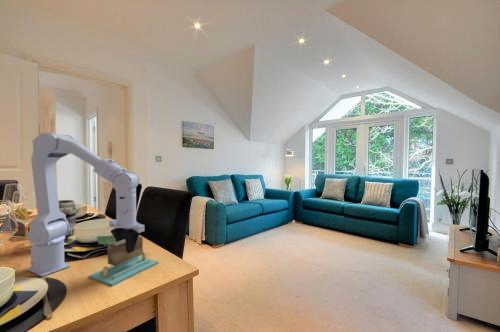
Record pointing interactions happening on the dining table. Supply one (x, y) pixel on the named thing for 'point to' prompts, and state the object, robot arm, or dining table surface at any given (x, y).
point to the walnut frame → (123, 251)
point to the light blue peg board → (123, 270)
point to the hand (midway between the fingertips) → (126, 250)
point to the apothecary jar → (69, 216)
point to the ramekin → (106, 239)
